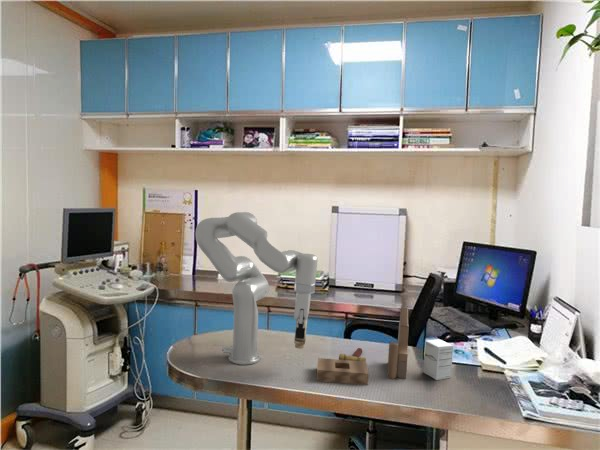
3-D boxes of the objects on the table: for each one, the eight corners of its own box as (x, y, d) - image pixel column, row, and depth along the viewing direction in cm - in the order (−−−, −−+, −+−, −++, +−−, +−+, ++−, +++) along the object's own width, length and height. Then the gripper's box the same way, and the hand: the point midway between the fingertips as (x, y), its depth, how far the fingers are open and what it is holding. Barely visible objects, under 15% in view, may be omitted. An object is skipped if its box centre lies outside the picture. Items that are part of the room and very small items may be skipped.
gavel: (349, 342, 181) (372, 345, 178) (349, 352, 181) (372, 356, 178) (338, 355, 161) (364, 359, 158) (337, 366, 161) (363, 371, 158)
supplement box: (422, 372, 159) (424, 340, 158) (437, 370, 162) (440, 338, 161) (436, 380, 152) (438, 346, 151) (451, 378, 155) (454, 344, 154)
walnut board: (316, 380, 147) (317, 369, 147) (317, 368, 158) (318, 358, 158) (367, 384, 146) (368, 373, 145) (365, 372, 157) (365, 361, 156)
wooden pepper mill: (293, 348, 152) (296, 316, 151) (294, 344, 156) (297, 313, 155) (304, 349, 152) (307, 317, 151) (305, 345, 156) (308, 314, 155)
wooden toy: (387, 362, 167) (390, 301, 165) (404, 364, 166) (408, 302, 164) (387, 378, 152) (391, 311, 150) (406, 380, 151) (410, 313, 149)
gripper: (296, 281, 161) (292, 327, 162) (292, 291, 144) (287, 342, 146) (315, 283, 161) (311, 329, 162) (313, 294, 144) (309, 345, 145)
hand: (300, 335), depth 154 cm, fingers closed on wooden pepper mill, 4 cm apart
